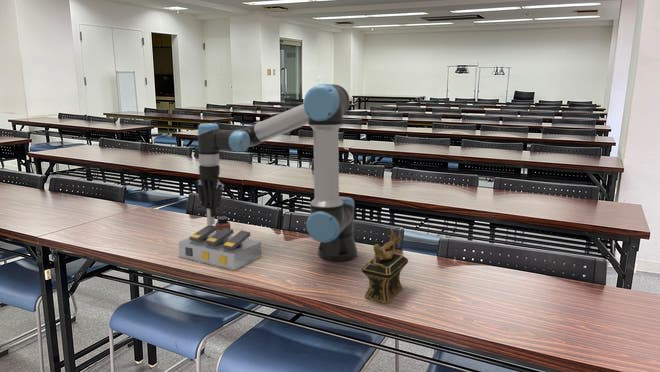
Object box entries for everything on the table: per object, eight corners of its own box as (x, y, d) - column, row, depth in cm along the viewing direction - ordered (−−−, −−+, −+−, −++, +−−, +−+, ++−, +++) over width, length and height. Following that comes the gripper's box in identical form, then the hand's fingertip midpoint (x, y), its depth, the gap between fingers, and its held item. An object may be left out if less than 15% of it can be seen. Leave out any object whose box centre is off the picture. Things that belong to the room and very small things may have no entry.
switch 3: (250, 235, 175) (249, 231, 174) (232, 250, 166) (231, 246, 166) (241, 233, 177) (241, 230, 176) (223, 248, 168) (222, 244, 167)
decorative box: (388, 307, 139) (391, 244, 135) (359, 299, 144) (361, 238, 140) (411, 284, 156) (415, 227, 152) (384, 277, 161) (387, 222, 157)
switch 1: (217, 229, 182) (216, 226, 182) (198, 242, 173) (197, 238, 173) (209, 227, 184) (208, 224, 184) (189, 240, 175) (189, 236, 174)
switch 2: (233, 232, 179) (233, 229, 178) (214, 245, 170) (214, 241, 169) (225, 231, 180) (224, 227, 180) (206, 243, 171) (205, 240, 171)
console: (261, 256, 178) (261, 239, 176) (233, 270, 164) (233, 252, 162) (208, 244, 189) (208, 228, 188) (178, 257, 175) (177, 239, 174)
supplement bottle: (224, 240, 195) (224, 214, 192) (233, 244, 191) (233, 217, 188) (212, 244, 190) (212, 217, 188) (222, 247, 186) (221, 220, 184)
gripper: (229, 164, 177) (230, 224, 182) (203, 161, 183) (204, 219, 188) (216, 167, 171) (217, 229, 176) (189, 164, 176) (191, 224, 181)
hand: (211, 224), depth 182 cm, fingers closed
